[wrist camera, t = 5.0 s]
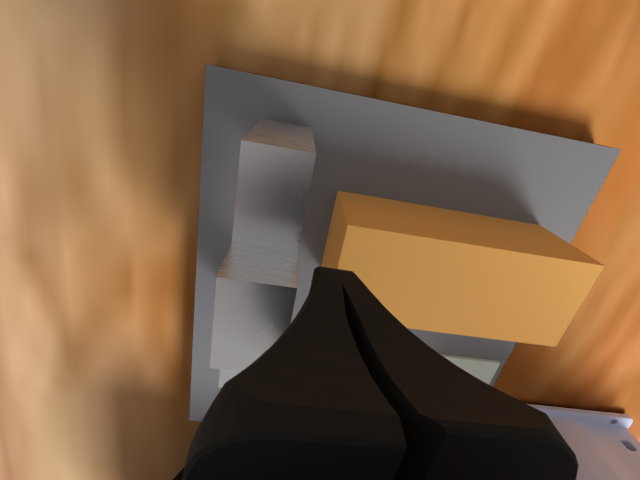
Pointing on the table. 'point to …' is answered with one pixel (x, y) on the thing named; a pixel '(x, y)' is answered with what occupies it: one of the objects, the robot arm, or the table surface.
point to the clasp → (262, 245)
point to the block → (460, 269)
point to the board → (381, 186)
